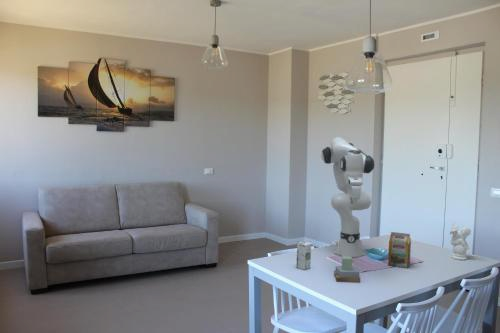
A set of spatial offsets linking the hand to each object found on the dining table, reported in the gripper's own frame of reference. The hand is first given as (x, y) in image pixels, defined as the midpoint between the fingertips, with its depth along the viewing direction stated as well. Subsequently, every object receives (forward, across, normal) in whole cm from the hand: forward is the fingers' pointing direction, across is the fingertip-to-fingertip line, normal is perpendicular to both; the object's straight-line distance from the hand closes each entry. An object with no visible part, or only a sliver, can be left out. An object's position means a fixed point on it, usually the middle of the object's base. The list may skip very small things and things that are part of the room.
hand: (353, 205), depth 242 cm
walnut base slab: (+38, +11, -4) cm, 40 cm away
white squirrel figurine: (+37, -35, +69) cm, 86 cm away
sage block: (+32, +11, -4) cm, 34 cm away
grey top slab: (+35, +11, -4) cm, 37 cm away
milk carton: (+37, -17, +30) cm, 51 cm away
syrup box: (+37, -4, -26) cm, 46 cm away
